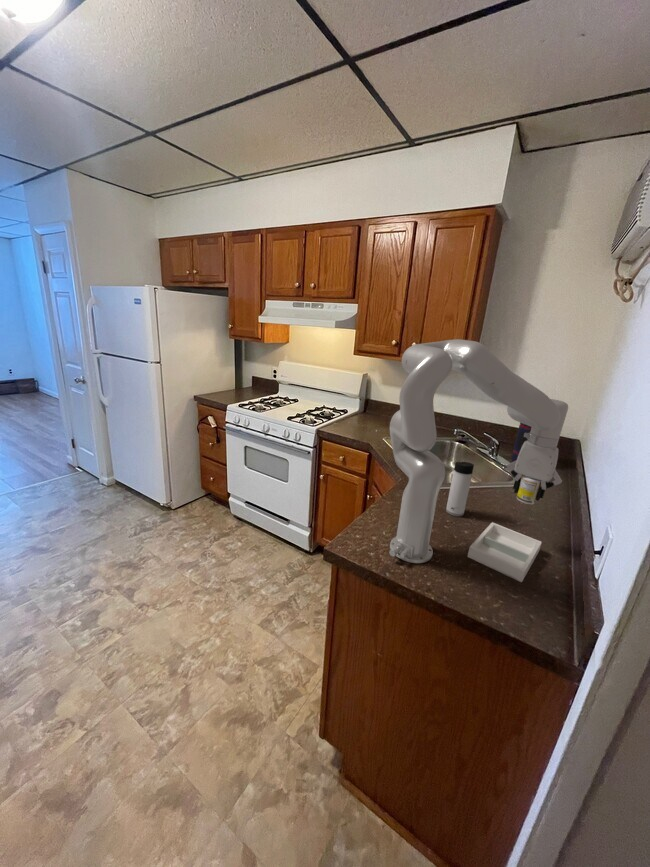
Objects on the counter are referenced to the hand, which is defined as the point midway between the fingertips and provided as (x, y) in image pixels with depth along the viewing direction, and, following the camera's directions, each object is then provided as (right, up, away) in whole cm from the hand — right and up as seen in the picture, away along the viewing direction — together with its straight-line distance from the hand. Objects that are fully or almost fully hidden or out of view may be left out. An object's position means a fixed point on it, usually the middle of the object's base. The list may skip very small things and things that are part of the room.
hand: (527, 494), depth 112 cm
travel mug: (-15, -10, +20) cm, 27 cm away
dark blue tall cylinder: (+40, +3, +74) cm, 84 cm away
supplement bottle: (0, -2, +1) cm, 2 cm away
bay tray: (-8, -18, -2) cm, 20 cm away
